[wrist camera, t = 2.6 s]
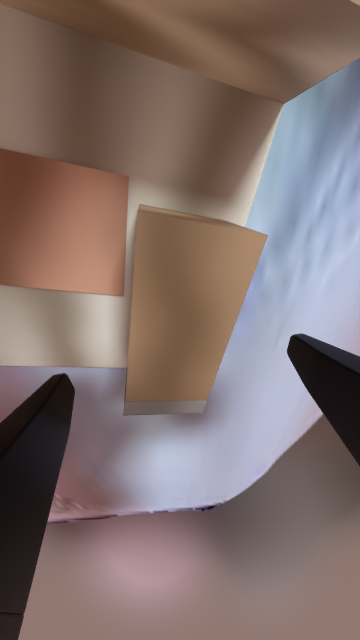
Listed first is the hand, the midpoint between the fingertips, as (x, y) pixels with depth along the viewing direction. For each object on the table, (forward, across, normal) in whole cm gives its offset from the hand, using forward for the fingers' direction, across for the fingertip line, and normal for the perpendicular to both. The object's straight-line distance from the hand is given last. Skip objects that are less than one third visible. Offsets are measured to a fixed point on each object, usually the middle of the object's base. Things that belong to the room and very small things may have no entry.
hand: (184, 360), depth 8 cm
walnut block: (+6, 0, 0) cm, 6 cm away
